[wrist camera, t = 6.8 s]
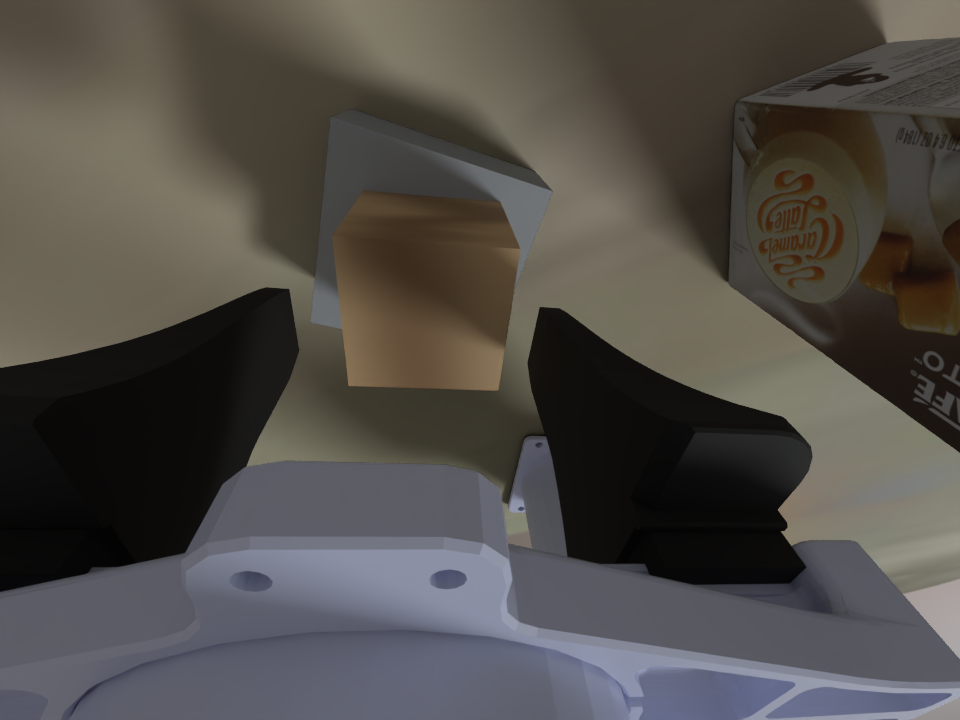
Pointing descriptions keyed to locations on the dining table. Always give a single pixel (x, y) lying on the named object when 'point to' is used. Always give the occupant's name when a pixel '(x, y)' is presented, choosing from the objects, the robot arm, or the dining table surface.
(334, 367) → the dining table surface
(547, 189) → the slate block
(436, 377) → the oak cube
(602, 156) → the dining table surface
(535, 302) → the dining table surface
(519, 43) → the dining table surface
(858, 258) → the coffee box
